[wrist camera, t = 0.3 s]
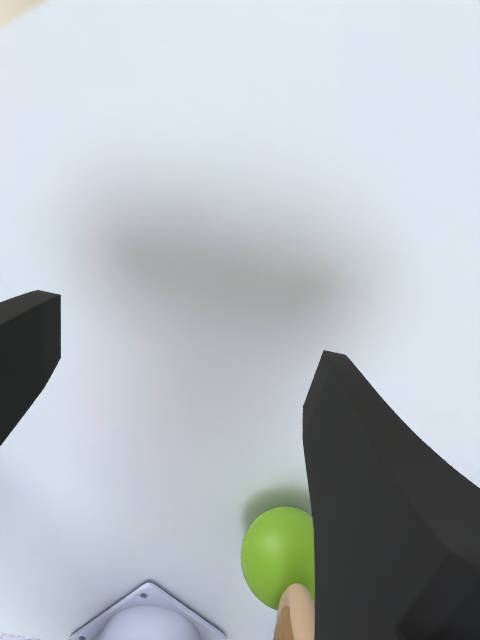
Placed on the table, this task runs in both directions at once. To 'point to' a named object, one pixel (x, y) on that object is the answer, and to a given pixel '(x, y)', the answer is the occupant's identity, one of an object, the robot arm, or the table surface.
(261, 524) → the googly-eyed toy snail
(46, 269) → the table surface
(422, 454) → the robot arm
